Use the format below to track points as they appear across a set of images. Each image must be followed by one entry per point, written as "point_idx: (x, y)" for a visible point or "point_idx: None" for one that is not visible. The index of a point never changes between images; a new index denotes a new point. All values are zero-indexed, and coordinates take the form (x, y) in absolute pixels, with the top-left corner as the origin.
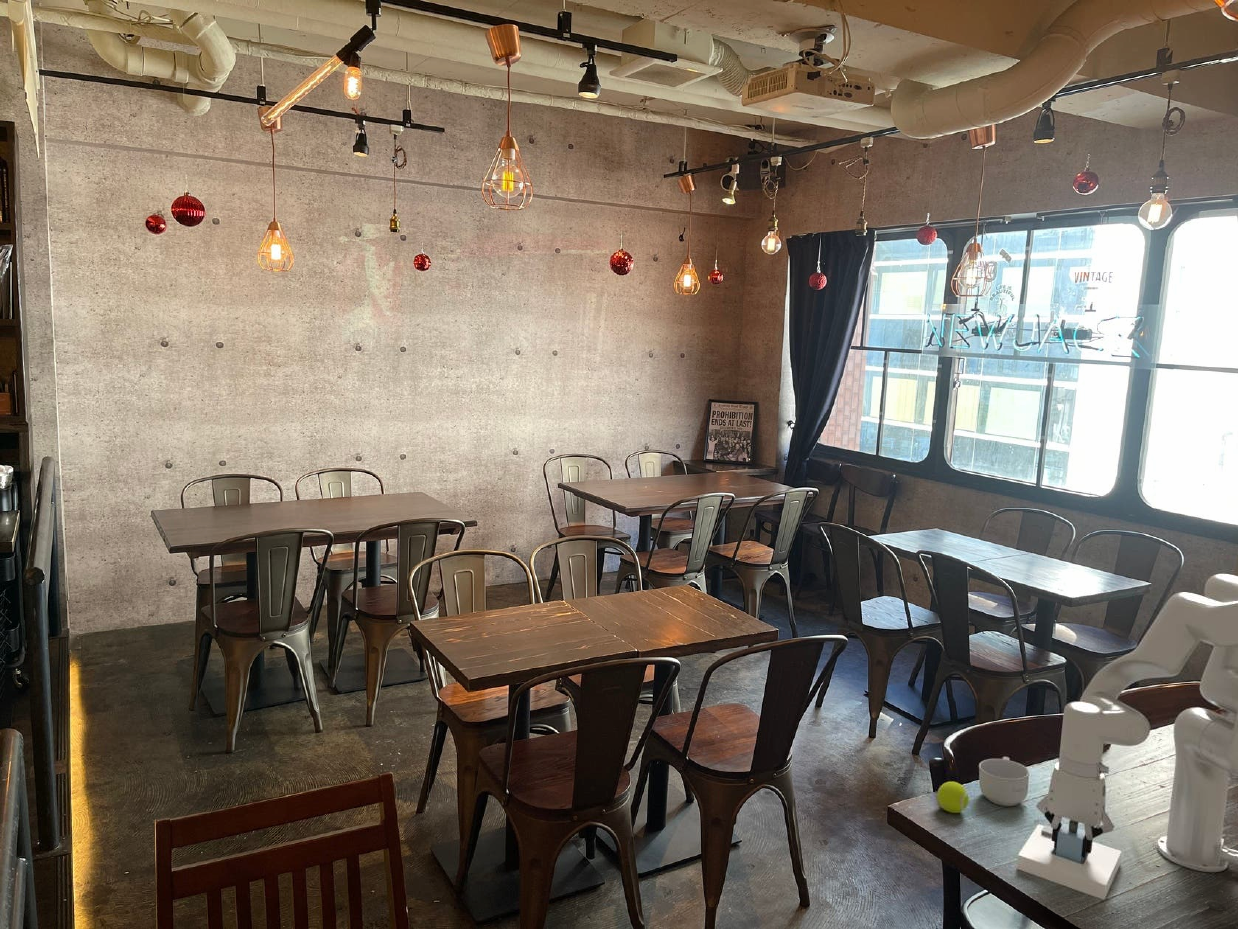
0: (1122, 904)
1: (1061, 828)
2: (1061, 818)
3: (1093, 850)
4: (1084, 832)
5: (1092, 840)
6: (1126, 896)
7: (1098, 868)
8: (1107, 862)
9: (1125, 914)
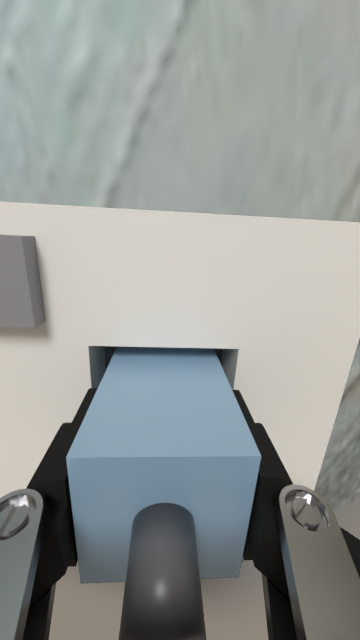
0: (323, 468)
1: (83, 542)
2: (28, 596)
3: (254, 319)
4: (242, 494)
5: (286, 476)
6: (338, 426)
7: (279, 452)
8: (314, 387)
9: (327, 502)
